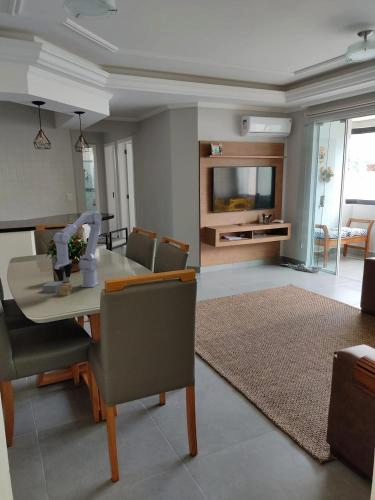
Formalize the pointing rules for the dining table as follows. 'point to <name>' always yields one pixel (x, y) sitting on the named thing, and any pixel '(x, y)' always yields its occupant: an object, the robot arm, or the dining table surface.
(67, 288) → the oak cube
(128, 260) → the dining table surface
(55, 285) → the slate block
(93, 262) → the robot arm
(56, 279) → the coffee box
